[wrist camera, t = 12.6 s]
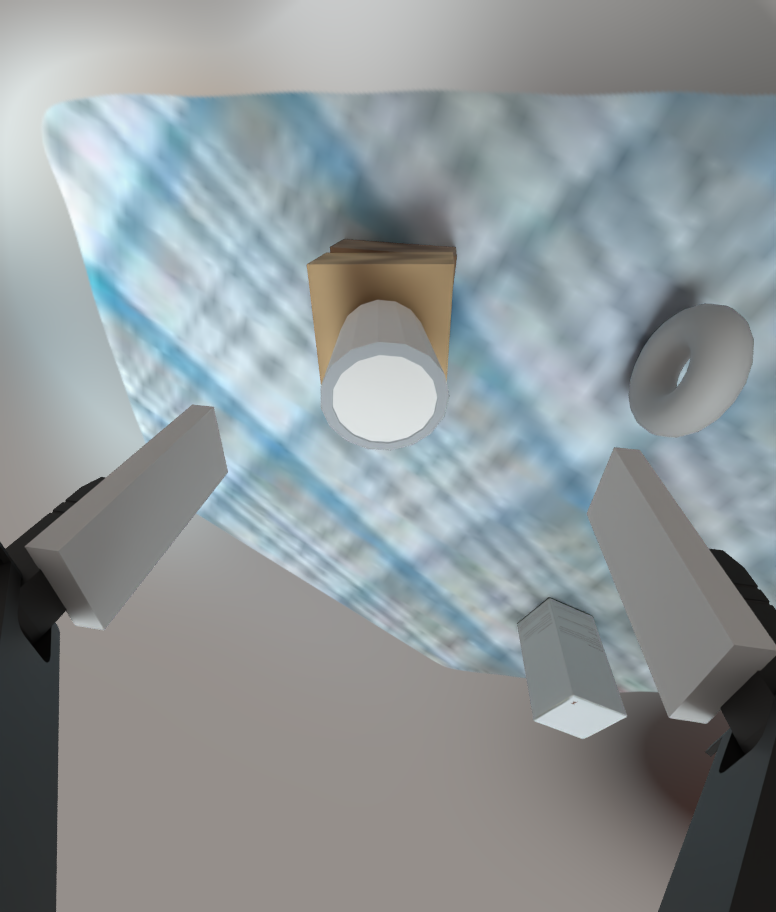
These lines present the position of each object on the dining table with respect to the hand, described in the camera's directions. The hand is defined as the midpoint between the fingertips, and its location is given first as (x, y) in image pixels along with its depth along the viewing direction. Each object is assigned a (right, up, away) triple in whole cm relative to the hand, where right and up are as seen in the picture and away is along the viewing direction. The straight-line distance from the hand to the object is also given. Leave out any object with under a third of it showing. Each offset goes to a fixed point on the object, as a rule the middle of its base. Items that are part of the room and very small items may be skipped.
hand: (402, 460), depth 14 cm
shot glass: (-1, +8, +13) cm, 15 cm away
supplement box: (+22, -22, +43) cm, 53 cm away
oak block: (0, +11, +17) cm, 21 cm away
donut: (+22, +9, +21) cm, 32 cm away
